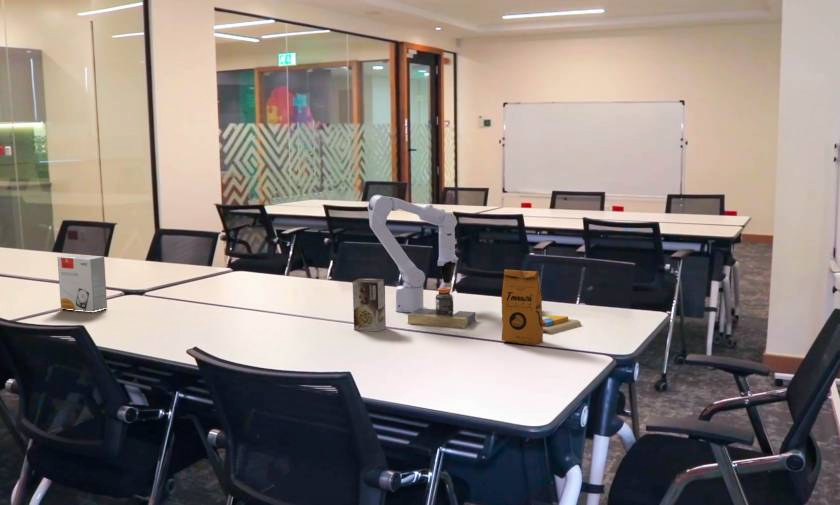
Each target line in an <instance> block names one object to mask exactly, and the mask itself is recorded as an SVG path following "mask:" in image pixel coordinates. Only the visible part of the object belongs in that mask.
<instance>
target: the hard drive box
mask: <svg viewBox="0 0 840 505" xmlns="http://www.w3.org/2000/svg"><path fill="white" fill-rule="evenodd" d="M57 267H58V284H59V286H58V287H59V300H60V309H61V308H66V309H73V310H83V311H95V310H99V309H103V308H107V309H108V301H107V300H108V298H107V283H106V281H107V280H106V266H105V257H104V256H101V255H100V256H97V255H87V254H85V255H83V254H68V255H67V254H66V255H61V256H57Z"/></svg>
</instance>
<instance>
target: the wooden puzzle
mask: <svg viewBox="0 0 840 505" xmlns="http://www.w3.org/2000/svg"><path fill="white" fill-rule="evenodd" d="M542 318H543V332H546V333H547V334H549V335H553V334H558V333H561V332H565V331H568V330H573V329H575V328H579V327H581V326H582V323H581V321H580V320H579V319H573V318H572V319H571V318H569V317H568V316H566V315H552V314H543V313H542Z"/></svg>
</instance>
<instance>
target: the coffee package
mask: <svg viewBox="0 0 840 505" xmlns="http://www.w3.org/2000/svg"><path fill="white" fill-rule="evenodd" d="M539 275H540V274H539V271H538V270H537V271H533V270H516V269H504V272H503V282H502V292H501V315H502V316H501V321H502V326H501V327H502V329H501V341H502V342H508V343H514V344H520V345H530V346H538V345H539V344H540V343H543V342H544V339H543V338H544V336H543V335H544V331H543V318H542V314H543V304H542V303H543V301H542V300H543V299H542V293H541V284H540V283H541V282H540V281H541V280H540V277H539Z"/></svg>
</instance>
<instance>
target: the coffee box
mask: <svg viewBox="0 0 840 505" xmlns="http://www.w3.org/2000/svg"><path fill="white" fill-rule="evenodd" d="M385 280H386V279H385V278H384V279H383V278H358V279H355V280H353V281H351V282H352V299H353V300H352V301H353V303H352V304H353V306H352V307H353V310H352V311H353V330H354V329H356V330H355V331H365V330H367V331H368V332H380V331H383V330H384V329H385V328H386V326H387V324H386V323H387V322H386V320H387V319H386V284H385Z"/></svg>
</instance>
